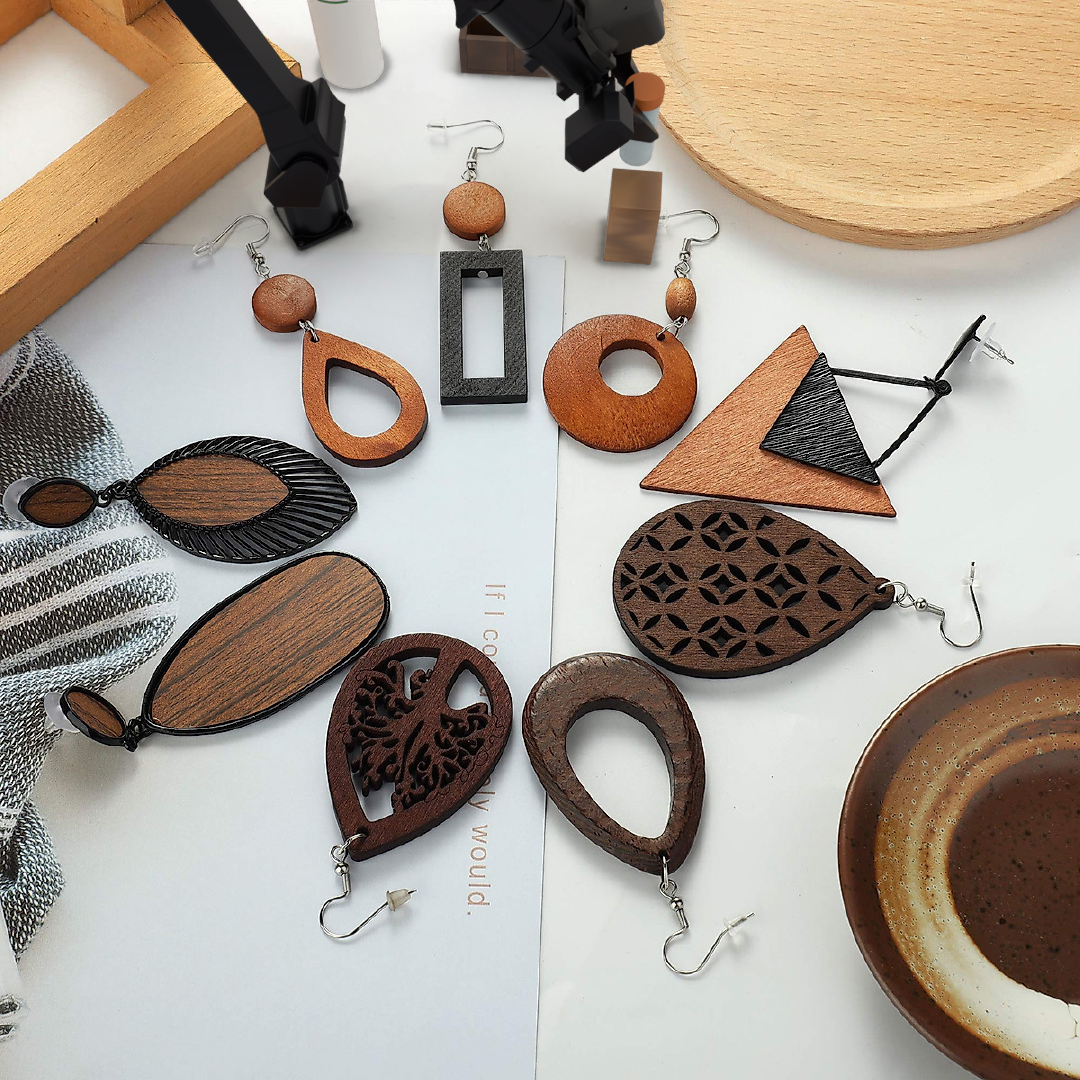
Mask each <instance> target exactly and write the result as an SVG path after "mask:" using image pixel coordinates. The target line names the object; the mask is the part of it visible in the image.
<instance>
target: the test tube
mask: <svg viewBox="0 0 1080 1080" xmlns="http://www.w3.org/2000/svg"><path fill="white" fill-rule="evenodd" d="M639 72H640V71H639ZM633 80H634V84H635V104H636V105H637V106H638V107H639V109H640V110H641V111H642V112H643V114H644V115H645V116H646V117H647V119H648V120H649V121H650V122H651V124H652V125H653V126H654V128H655V129H656V130H657V128H658V121H659V116H660V110H661V105H662V104H663V102H664V99H665V92H666V85H665V82H664V80H663V79H662V78H661V77H660V76H658V75H657V74H655V73H652V72H647V71H642V72H640V73H636V74H633V75H632V76H630V77H629V78H628V80H627V81H626V84H625V86H626V85H628V84H629V83H630V82H632V81H633ZM654 146H655V141H654V142H652V143H646V142H640V141H633V140H629V142H627V143H626V144H624V145H623V146H622V147H620V148H619V151H618V152H619V153H618V154H619V157H620V159H621V161H622V162H623V163H625V164H627V166H628V165H629V166H631V167H643V166H644V165H647V164H648V163H649V162H650V161H651V159H652V158H653V152H654Z"/></svg>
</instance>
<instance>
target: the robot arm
mask: <svg viewBox="0 0 1080 1080" xmlns="http://www.w3.org/2000/svg"><path fill="white" fill-rule="evenodd" d="M163 1H164V3H165V5H166V6H167V7H168V8H169V9H170V10H171V11H172V13H173V14H174V15H175V17H176V18H177V19H178V20H179V21H180V23H181V24H182V25H183V26H184V27H185V29H186V30H187V31H188V32H189V33H190V35H191V36H192V37H193V38H194V39H195V41H196V42H197V43H198V45H200V47H201V48H202V49H203V50H204V52H205V53H206V54H207V55H208V56H209V58H210V59H211V60H212V61H213V62H214V64H215V65H216V66H217V67H218V69H219V70H220V71H221V73H223V75H224V76H225V77H226V78H227V80H228V81H229V82H230V83H231V85H232V86H233V87H234V88H235V89H236V91H237V92H238V93H239V94H240V96H242V98H243V99H244V100H245V101H246V103H247V104H248V105H249V106H250V108H251V109H252V110H253V112H254V113H255V115H256V116H257V119H258V122H259V125H260V129H261V131H262V134H263V137H264V140H265V144H266V147H267V150H268V152H269V157H268V163H267V169H266V175H265V180H264V187H263V193H262V194H263V195H264V197H265V198H266V199H267V201H268V202H269V203H270V205H272V206H273V207H272V210H273V213H274V215H275V216H276V218H277V220H278V221H279V222H280V224H281V225H282V227H283V230H285V232H286V233H287V235H288V236H289V238H290V240H291V241H292V243H293V244H294V246H295V247H296V249H297V250H299V251H303V250H306V249H308V248H311V247H312V246H314V245H317V244H319V243H321V242H323V241H326V240H328V239H329V238H330V239H331V238H332V237H334V236H336V235H339V234H341V233H344V232H345V231H348V230H350V229H351V228H353V227H354V221H353V220H352V218H351V217H350V215H349V214H348V212H347V211H348V210H349V208H350V205H349V201H348V197H347V192H346V188H345V185H344V180H343V179H342V177H341V176H340V174H341V170H342V162H343V161H342V160H343V153H344V147H345V146H344V145H345V137H346V128H347V119H346V103H344V102H343V101H341V100H340V99H339V98H338V97H337V96H336V95H335V94H334V93H333V91H332V89H331V87H330V84H329V82H328V80H327V79H326V78H325V77H323V76H321V77H319V78H316V79H315V80H313V81H309V80H307V79H304V78H302V77H300V76H296V75H295V74H294V73H293V72H292V71H291V69H290V68H289V67H288V65H287V64H286V63H285V62H284V60H283V59H282V57H281V56H280V55H279V54H278V52H277V50H275V48H274V46H273V45H272V44H271V43H270V42H269V40H268V39H267V38H266V36H265V35H264V33H263V32H262V31H261V29H260V28H259V26H258V25H257V24H256V22H255V21H254V20H253V19H252V17H251V16H250V15H249V13H248V12H247V10H246V9H245V8H244V6H243V5H242V4H241V2H240V1H239V0H163ZM453 4H454V9H455V27H456V28H457V29H459V30H460V29H463V28H464V27H465V26H466V25H467V24H468V23H470V22H471V21H472V20H473V19H474V18H475V17H476V16H477V15H479V14H481V15H482V16H483V17H484V18H485V19H486V20H487V21H489V22H490V23H491V24H492V25H493V26H494V27H495V28H497V29H498V30H499V31H500V32H501V33H502V34H503V35H504V36H506V37H507V38H508V39H509V40H510V41H511V42H512V43H513V44H515V45H516V46H517V47H518V48H519V49H520V50H521V51H522V52H524V67H525V68H526V69H527V70H528V71H530V72H531V73H533V72H534V71H535V70H537V69H538V68H539V67H540V68H542V69H543V70H544V71H545V72H546V73H547V74H548V75H549V76H551V77H550V78H552V79H553V81H555V83H556V84H555V85H556V86H555V87H556V90H555V91H556V92H555V95H556V96H557V97H558V98H559V99H560V100H562V101H563V102H565V101H567V100H568V99H570V98H571V97H572V96H574V95H577V96H578V109H577V110H575V111H574V112H573V113H571V114H570V115H569V116H568V117H566V118H565V119H564V160H565V161H566V162H567V163H568V164H570V165H571V166H572V167H573V168H575V169H576V170H577V171H578V172H580V173H585V172H587V171H588V170H590V169H591V168H593V167H594V166H595V165H596V164H598V163H600V162H601V161H603V160H605V159H606V158H607V157H608V156H610V155H611V154H613V153H614V152H616V151H617V150H620V147H622V146H623V145H624V144H626V143H627V142H629V140H633V141H640V142H646V143H652V142H654V143H655V141H657V140H658V139H659V138H660V134H659V132H658V131H657V129H655V128H654V126H653V125H652V124H651V122H650V121H649V120H648V119H647V117H646V116H645V115H644V114H643V112H642V111H641V110H640V109H639V107H638V106H637V105H636V104H635V84H634V80H633V81H632V82H630V83H629V84H628V85H626V86H625V84H626V81H627V80H628V78H629V77H630V76H632V75H633V74H636V73H640V70H639V69H638V66H637V64H636V62H635V60H634V59H633V56H632V55H633V51H634V50H637V49H639V48H642V47H644V46H649V47H652V46H653V45H656V44H658V43H659V42H661V40H662V39H664V37H665V35H666V26H665V19H664V18H665V17H664V15H665V14H664V12H665V8H664V4H663V1H662V0H453Z"/></svg>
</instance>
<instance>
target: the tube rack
mask: <svg viewBox="0 0 1080 1080" xmlns="http://www.w3.org/2000/svg"><path fill="white" fill-rule="evenodd" d="M458 49H459V64H460V73H462V74H479V75H481V74H482V75H500V76H521V77H538V78H552V77H551V76H549V75H548V74H547V73H546V72H545V71H544V70H543V69H542V68H540V67H539V68H538V69H537V70H535V71H534V72H533V73H531V72H530V71H528V70H527V69H526V68H525V67H524V52H522V51H521V50H520V49H519V48H518V47H517V46H516V45H515V44H513V43H512V42H511V41H510V40H509V39H508V38H507V37H506V36H504V35H503V34H502V33H501V32H500V31H499V30H498V29H497V28H495V27H494V26H493V25H492V24H491V23H490V22H489V21H487V20H486V19H485V18H484V17H483V16H482V15H481V14H479V15H477V16H476V17H475V18H474V19H473V20H472V21H471V22H470V23H468V24H467V25H466V26H465V27H464V28H463V29H459V34H458Z"/></svg>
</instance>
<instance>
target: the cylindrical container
mask: <svg viewBox="0 0 1080 1080" xmlns="http://www.w3.org/2000/svg"><path fill="white" fill-rule="evenodd" d="M306 3H307V7H308V12H309V15H310V16H309V17H310V20H311V26H312V30H313V34H314V38H315V43H316V47H317V53H318V57H319V61H320V66H321V71H322V74H323V76H324V79H325V80H326V81H327V82H328V83H330V84H332V85H333V86H335V87H338V88H342V89H346V90H347V89H348V90H357V89H361V88H366V87H368V86H370V85H372V84H374V83H375V82H376V81H378V79H379V78H381V76H382V74H383V72H384V70H385V59H384V53H383V47H382V41H381V35H380V27H379V22H378V21H379V20H378V15H377V14H378V13H377V8H376V1H375V0H306Z"/></svg>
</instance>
